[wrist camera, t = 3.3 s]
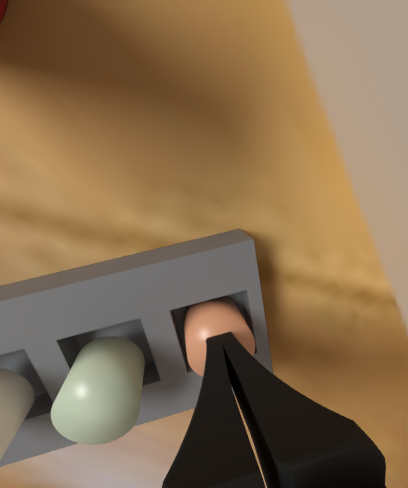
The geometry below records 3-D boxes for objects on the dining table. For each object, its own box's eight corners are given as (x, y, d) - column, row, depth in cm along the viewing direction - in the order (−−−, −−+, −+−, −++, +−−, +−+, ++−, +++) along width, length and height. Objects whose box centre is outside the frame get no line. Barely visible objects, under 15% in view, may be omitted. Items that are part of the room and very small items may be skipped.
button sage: (152, 380, 14) (148, 430, 11) (89, 398, 13) (69, 454, 11) (134, 328, 12) (125, 369, 10) (65, 347, 12) (36, 394, 9)
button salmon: (243, 335, 15) (259, 368, 13) (190, 350, 15) (195, 387, 12) (234, 287, 14) (249, 312, 12) (177, 302, 14) (179, 331, 11)
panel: (259, 354, 18) (274, 383, 15) (12, 426, 16) (-15, 471, 14) (239, 228, 15) (253, 239, 12) (-66, 301, 13) (-119, 330, 11)
